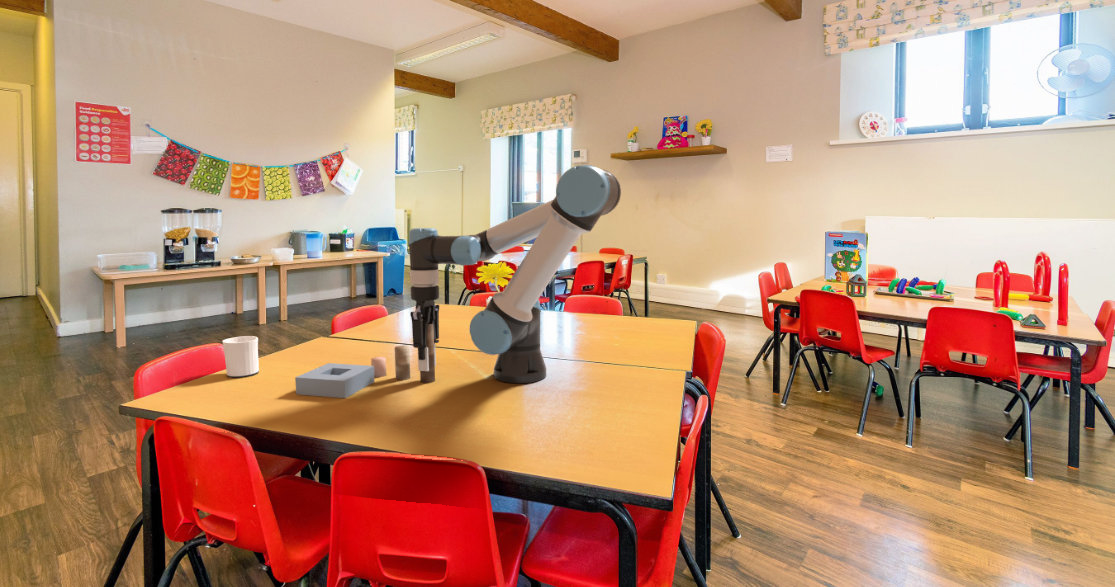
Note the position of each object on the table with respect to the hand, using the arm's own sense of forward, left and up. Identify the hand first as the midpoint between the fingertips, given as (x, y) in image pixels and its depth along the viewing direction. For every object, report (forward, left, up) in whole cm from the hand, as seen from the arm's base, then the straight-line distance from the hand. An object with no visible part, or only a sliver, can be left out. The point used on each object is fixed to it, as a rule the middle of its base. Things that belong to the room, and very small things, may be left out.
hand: (427, 368), depth 151 cm
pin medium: (+8, -1, -4) cm, 9 cm away
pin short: (+16, -2, -4) cm, 17 cm away
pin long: (0, 0, -4) cm, 4 cm away
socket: (+21, +11, -4) cm, 24 cm away
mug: (+56, +5, -4) cm, 56 cm away
